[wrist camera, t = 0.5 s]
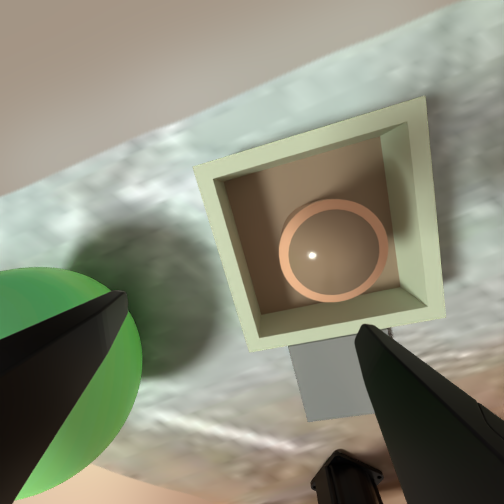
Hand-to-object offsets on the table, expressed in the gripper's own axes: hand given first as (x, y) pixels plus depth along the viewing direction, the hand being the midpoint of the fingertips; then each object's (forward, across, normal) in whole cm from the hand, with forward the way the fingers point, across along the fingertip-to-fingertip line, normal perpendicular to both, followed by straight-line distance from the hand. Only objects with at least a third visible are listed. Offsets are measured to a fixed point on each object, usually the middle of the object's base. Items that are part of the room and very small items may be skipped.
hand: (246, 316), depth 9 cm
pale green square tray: (+14, -6, +1) cm, 15 cm away
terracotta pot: (+13, -6, +1) cm, 15 cm away
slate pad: (+10, -13, +15) cm, 22 cm away
